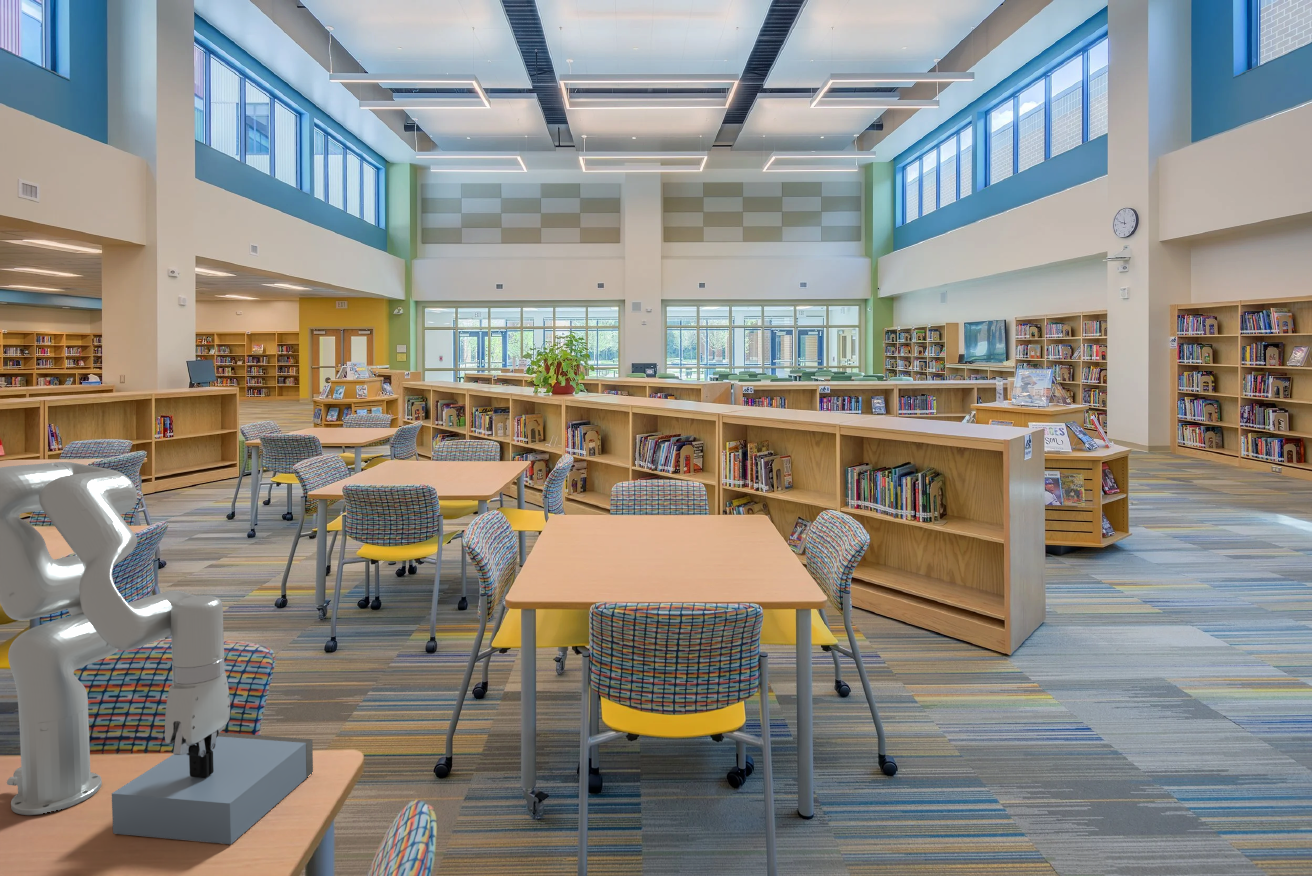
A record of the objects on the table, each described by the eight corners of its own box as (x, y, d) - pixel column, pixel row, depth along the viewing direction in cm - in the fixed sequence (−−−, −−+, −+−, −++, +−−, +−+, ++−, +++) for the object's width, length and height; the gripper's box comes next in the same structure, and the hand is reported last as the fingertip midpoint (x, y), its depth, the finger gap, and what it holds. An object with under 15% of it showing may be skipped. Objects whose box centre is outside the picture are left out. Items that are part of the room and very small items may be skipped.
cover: (113, 833, 120) (111, 793, 120) (204, 769, 140) (203, 735, 140) (230, 844, 118) (229, 803, 117) (306, 777, 138) (305, 742, 138)
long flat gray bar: (204, 771, 141) (203, 736, 140) (212, 765, 143) (211, 731, 142) (306, 779, 138) (306, 744, 138) (313, 773, 140) (312, 739, 140)
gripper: (210, 653, 132) (213, 752, 133) (142, 686, 117) (146, 797, 118) (248, 656, 131) (251, 755, 132) (185, 689, 116) (189, 800, 118)
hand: (201, 774), depth 125 cm, fingers closed
